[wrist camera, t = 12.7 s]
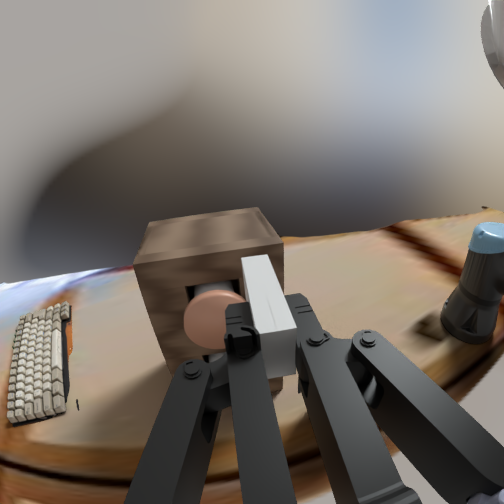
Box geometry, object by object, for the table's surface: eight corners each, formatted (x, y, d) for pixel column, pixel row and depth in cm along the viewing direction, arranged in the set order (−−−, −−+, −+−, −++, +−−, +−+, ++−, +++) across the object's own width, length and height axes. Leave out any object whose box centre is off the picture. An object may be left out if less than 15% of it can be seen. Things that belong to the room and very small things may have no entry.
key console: (264, 337, 53) (257, 207, 41) (282, 389, 41) (283, 242, 29) (183, 350, 50) (149, 222, 39) (184, 404, 39) (132, 264, 27)
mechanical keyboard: (83, 412, 36) (74, 401, 34) (10, 431, 27) (0, 421, 25) (72, 306, 65) (67, 296, 63) (20, 325, 56) (15, 315, 54)
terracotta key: (238, 286, 41) (233, 241, 37) (254, 343, 30) (250, 291, 27) (189, 293, 40) (180, 249, 36) (191, 353, 29) (177, 302, 26)
